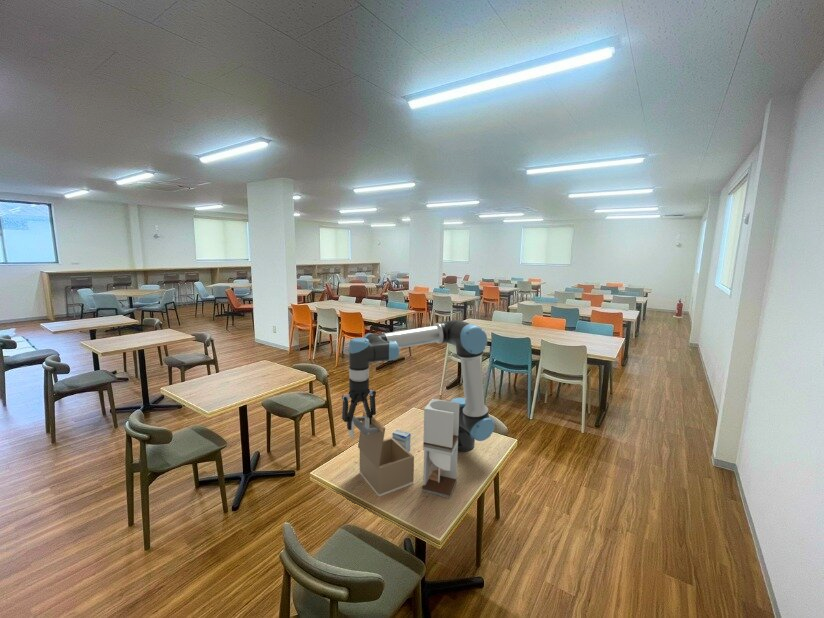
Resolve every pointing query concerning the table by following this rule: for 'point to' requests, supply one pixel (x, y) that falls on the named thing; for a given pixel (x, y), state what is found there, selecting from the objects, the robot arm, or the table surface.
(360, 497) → the table surface
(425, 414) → the white tower
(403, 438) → the medicine box
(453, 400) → the robot arm
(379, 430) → the lid flap
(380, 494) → the carton
